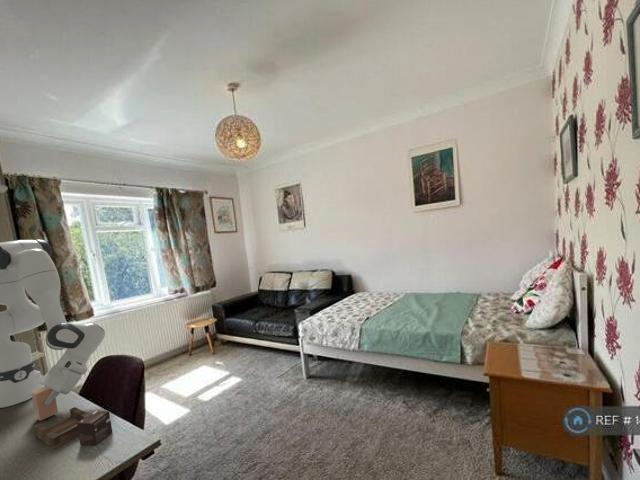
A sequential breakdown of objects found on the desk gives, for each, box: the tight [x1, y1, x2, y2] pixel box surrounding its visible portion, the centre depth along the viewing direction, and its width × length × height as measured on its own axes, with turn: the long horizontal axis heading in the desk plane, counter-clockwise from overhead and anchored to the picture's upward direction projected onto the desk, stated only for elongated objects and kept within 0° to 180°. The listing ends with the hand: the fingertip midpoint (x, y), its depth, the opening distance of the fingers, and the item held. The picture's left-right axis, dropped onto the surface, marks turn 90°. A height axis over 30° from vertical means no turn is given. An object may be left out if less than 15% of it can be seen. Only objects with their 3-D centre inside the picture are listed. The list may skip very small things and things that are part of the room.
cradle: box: [34, 406, 91, 450], centre depth 99 cm, size 16×11×4 cm
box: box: [77, 410, 113, 447], centre depth 93 cm, size 6×6×7 cm
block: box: [31, 386, 59, 422], centre depth 109 cm, size 5×5×10 cm
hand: (42, 402), depth 108 cm, fingers closed on block, 5 cm apart
